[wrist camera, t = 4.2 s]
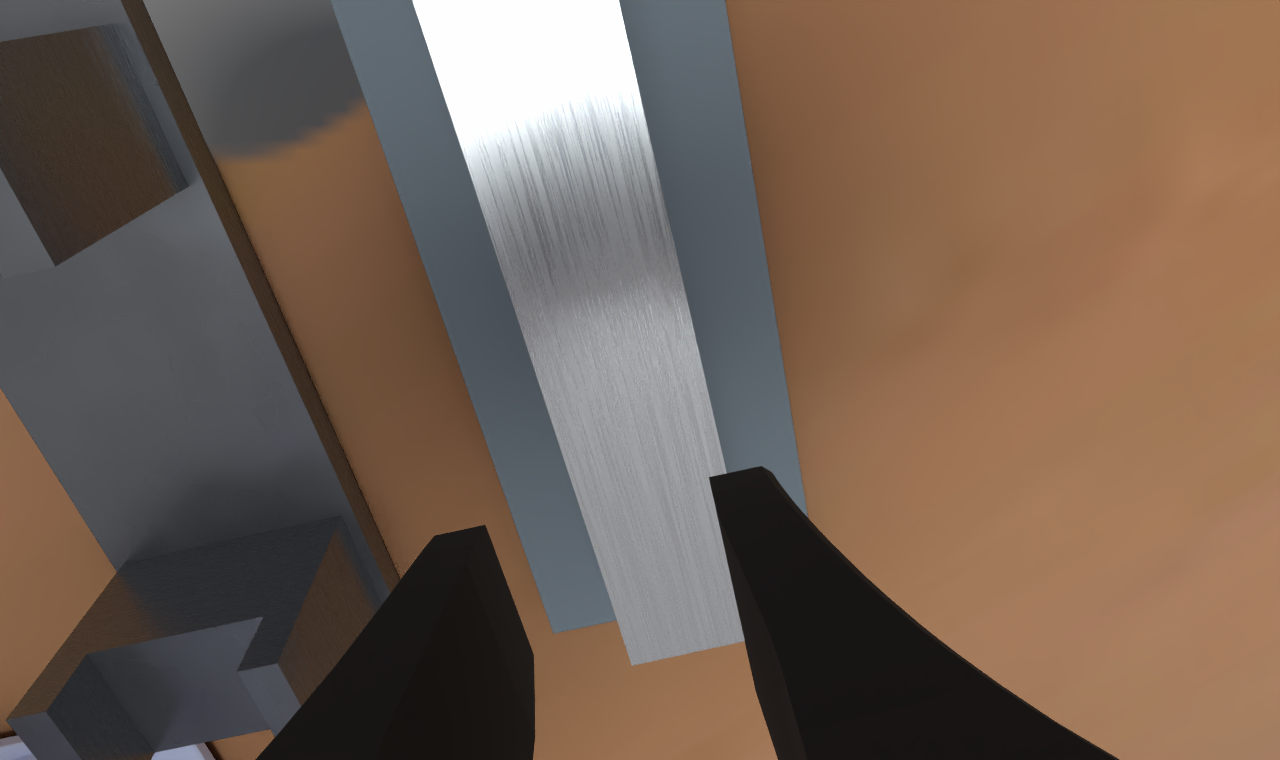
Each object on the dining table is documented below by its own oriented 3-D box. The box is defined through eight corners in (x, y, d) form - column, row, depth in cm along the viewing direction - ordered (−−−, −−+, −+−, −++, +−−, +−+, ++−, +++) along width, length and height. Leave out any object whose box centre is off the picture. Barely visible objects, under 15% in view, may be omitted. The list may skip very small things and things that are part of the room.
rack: (415, 616, 23) (368, 799, 18) (200, 661, 23) (95, 854, 18) (123, -42, 16) (-89, -37, 11) (-184, 36, 16) (-527, 75, 11)
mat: (812, 563, 23) (817, 578, 22) (554, 617, 23) (553, 633, 23) (679, -255, 15) (682, -263, 14) (285, -153, 15) (275, -157, 14)
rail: (626, 577, 22) (742, 551, 22) (631, 665, 19) (764, 636, 19) (402, -139, 15) (572, -186, 15) (360, -158, 12) (569, -216, 12)
